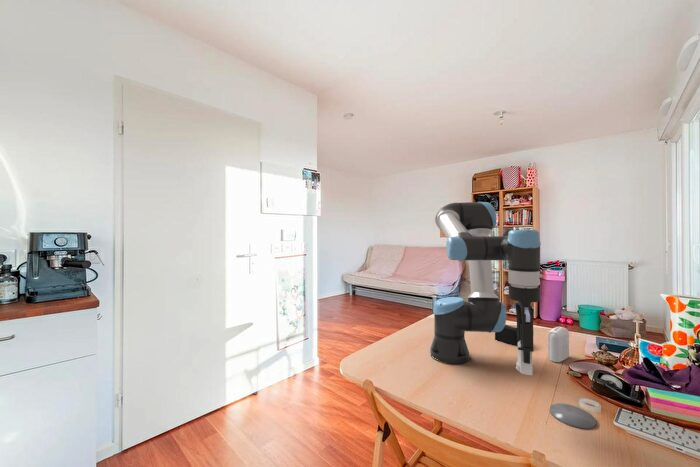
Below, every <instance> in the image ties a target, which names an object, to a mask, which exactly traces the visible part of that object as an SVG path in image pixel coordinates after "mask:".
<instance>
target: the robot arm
mask: <svg viewBox="0 0 700 467" xmlns="http://www.w3.org/2000/svg"><path fill="white" fill-rule="evenodd" d="M497 218H498V217H497V212H496V210H495V208H494V206H493V205H492V204H491V203H490V202H487V201H486V202H485V201H477V202H476V201H475V202H474V201H473V202H471V201H470V202H451V203H449V204H445V205H444V206H443V207H441V208H440V209H439V210H438V211H437V213H436V214H435V217H434V219H435V220H434V221H435V222H434V223H435V225H436V227H437V228H438V229H439V230H440V231H442V232H443V234H444V235H445V237H446V239H447V240H446V246H445V249H446V250H445V252H446V255H447V258H448V259H449V260H450V261H459V262H462V261H468V265H469V266H468V267H469V278H470V280H469V282H470V294H469V295H468V296H467V301H465V299H464V298H462V297H458V296H447V297H442V298H439V299H437V300H435V302H434V307H433V314H434V315H433V319H434V320H433V322H434V331H433V332H434V334H433V335H434V336H433V338H432V341H431V345H430V348H429V349H430V350H429V351H430V352H429V353H431V355H432V356H433V357H434V358H436V359H438V360H440V361H442V362H441V363H444V362H446V363H445V364H449V363H450V364H452V365H459V364H465V363H468V361H469V360H470V351H469V348H468V344H467V342H466V339H465V333H466V332H471V333H472V332H474V333H489V334H490V333H495V332H500V331H502V330H503V328H504V326H505V325H506V322H507V308H506V305H505V303H503V302H502V301H500V298H499V296H498V295H497V294H495V288H494V287H495V286H494V279H493V278H494V277H493V275H494V274H493V266H492V261H507V263H508V269H507V270H508V272H507V274H508V276H507V280H508V282H507V283H508V284H509V285H508V298H509V299H510V300H512V301H515V302H516V303H515V305H514V306H515V315H516V316H515V317H516V328H517V337H518V338H517V340H518V341H520V340H521V348H520V347H519V346H518V347H517V361H518V360H519V355H520V372H519V373H520V374H522V375H527V376H533V373H532V365H533V352H534V350H535V348H534V319H535V316H534V315H535V312H534V311H535V310H534V307H533V306H532V304H531V303H539V302H541V287H539V286H540V285H541V278H543V273H541V239H540V237H541V236H540V232H539V230H537V229H511V230H509V231H508V233H507V234H508V235H499V236H498V235H497V236H496V235H494V236H492V235H491V234H492V232H493V229H495V228H496V226H497ZM490 235H491V236H490ZM518 343H519V342H518ZM519 350H520V351H519ZM431 355H430V356H431ZM432 356H431V357H432ZM433 357H432V358H433ZM434 358H433V359H434ZM436 359H435V360H436ZM438 360H437V361H438ZM440 361H439V362H440Z"/></svg>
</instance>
